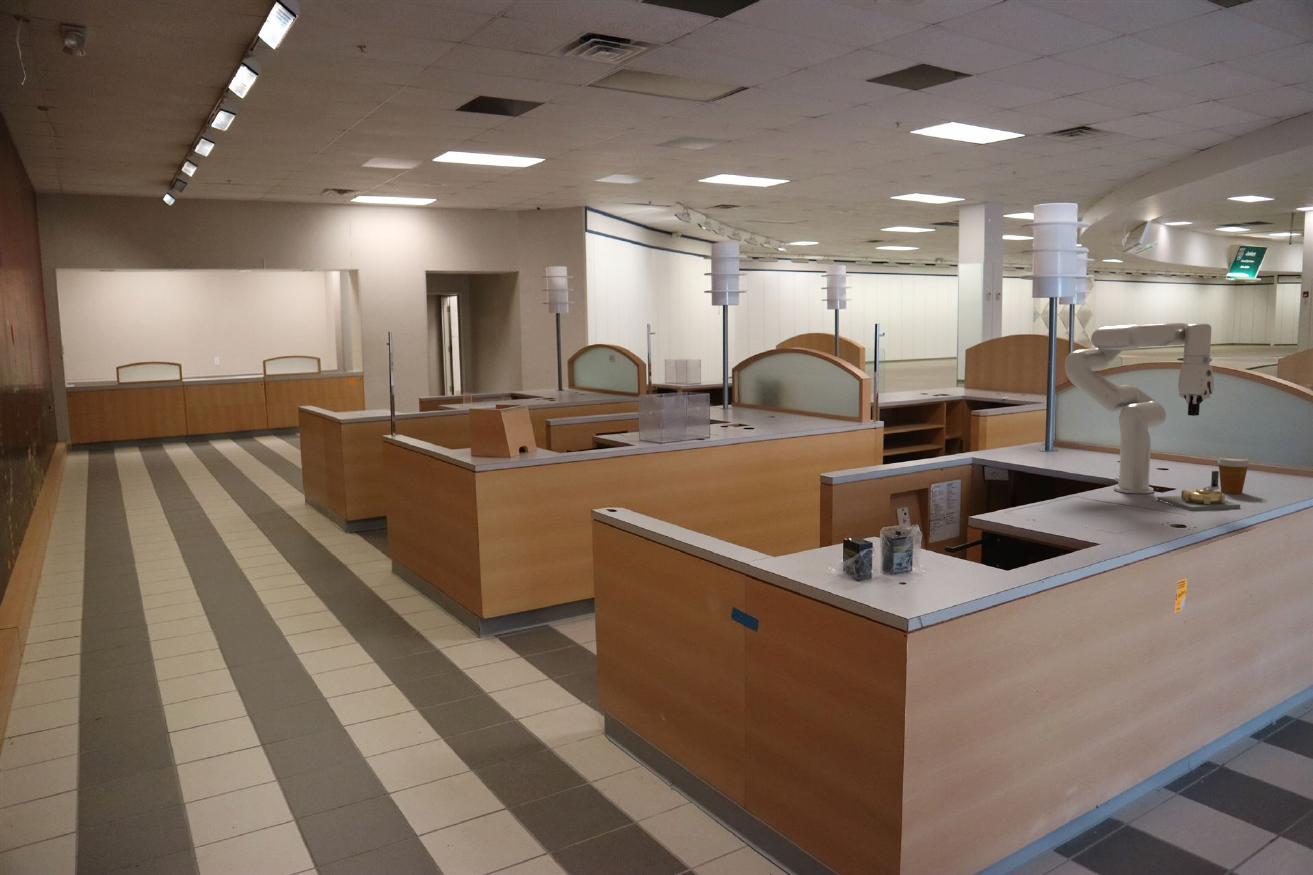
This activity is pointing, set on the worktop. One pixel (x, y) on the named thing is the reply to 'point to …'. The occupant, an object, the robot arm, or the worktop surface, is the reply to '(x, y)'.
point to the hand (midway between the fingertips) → (1193, 415)
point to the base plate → (1197, 504)
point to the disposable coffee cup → (1232, 474)
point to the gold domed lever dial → (1205, 493)
